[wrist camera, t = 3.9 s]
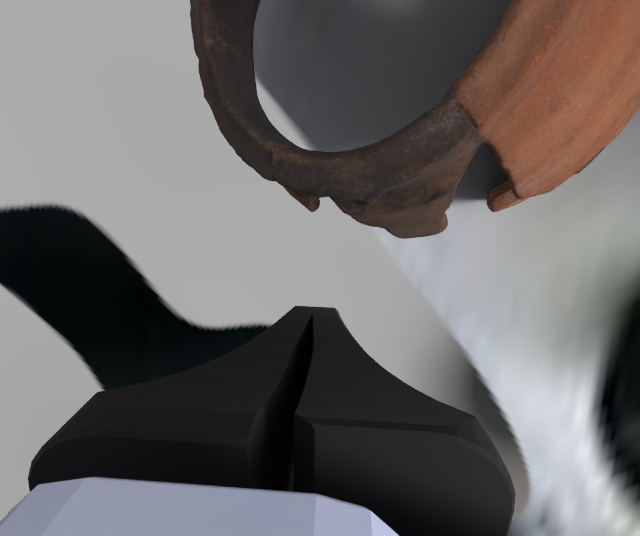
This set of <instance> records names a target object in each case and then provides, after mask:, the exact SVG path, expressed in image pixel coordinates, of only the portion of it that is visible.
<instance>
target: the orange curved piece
mask: <svg viewBox="0 0 640 536" xmlns="http://www.w3.org/2000/svg"><path fill="white" fill-rule="evenodd" d="M259 3H260V0H190V4H191V11H190V17H191V27H192V34H193V39H194V49H195V53H196V55H197V57H198V58H199V74H200V78H201V81H202V86H203V89H204V97H205V98H206V100H207V102H208V103H209V105H210V107H211V109H212V111H213V114H214V116H215V119H216V121H217V124H218V126H219V129H220V131H221V133H222V134H223V135H224V137H225V138H226V140H227V141H228V143H229V144H230V145H231V146H232V147H233V148H234V150H235V152H236V154H237V155H238V156H239V157H241V158H242V160H243V161H244V162H245V163H246V164H248V165H249V166H250V167H252V168H253V169H254V170H255V171H256V172H257V173H259V174H260V175H261V176H262V177H263V178H265V179H267V180H270V181H277V182H278V183H279V184H281V185H282V186H283V187H284V188H285V189H286V190H287V191H288V192H289V194H290V195H291V196H293V197H294V198H295V199H296V200H298V201H299V202H300V203H301V204H302V205H304V206H305V207H306V208H307V209H308V210H309V211H311V212H314V211H316V210H317V209H318V208H319V205H320V200H319V198H320V197H330V198H331V199H332V200H333V201H334V202H335V204H336V205H337V206H338V207H339V208H340V209H341V210H342V211H343V212H344V213H346V214H348V215H350V216H351V217H352V218H353V219H355V220H356V221H358V222H360V223H362V224H365V225H368V226H373V227H380V228H384V229H386V230H387V231H388V232H389V233H391V234H392V235H394V236H396V237H398V238H415V237H425V236H431V235H435V234H438V233H440V232H442V231H444V230H445V229H446V227H447V225H448V221H447V217H446V214H445V211H446V210H447V209H448V208H449V206H450V204H451V202H452V201H453V198H454V195H455V192H456V189H457V185H458V183H459V181H460V180H461V179H462V176H463V174H464V173H465V171H466V169H467V167H468V165H469V163H470V161H471V160H472V158H473V157H474V155H475V153H476V151H477V149H478V147H479V146H480V145H484V146H485V147H486V148H487V149H488V150H489V152H490V153H491V155H492V156H493V157H494V159H495V161H496V162H497V163H498V165H499V166H500V167H501V168H502V169H503V171H504V172H505V174H506V176H507V178H508V180H507V181H506V182H504V183H503V184H501V185H499V186H497V187H495V188H493V189H492V190H491V191H490V197H489V198H488V200H487V206H488V208H489V209H490V210H491V211H492V212H497V211H500V210H502V209H505V208H508V207H510V206H513V205H516V204H518V203H520V202H522V201H524V200H526V199H528V198H529V197H533V196H536V195H540V194H544V193H547V192H550V191H552V190H553V189H554V188H556V187H557V186H559V185H560V184H562V183H563V182H564V181H566V180H567V179H568V178H570V177H571V176H572V175H574V174H577V173H579V172H580V171H582V170H583V169H584V168H585V167H586V166H587V165H588V164H590V163H591V161H592V160H593V159H594V158H595V157H596V156H597V155H598V154H599V153H600V152H601V151H602V150H603V149H604V148H605V147H606V146H607V145H608V144H609V143H611V142H612V141H613V140H614V139H615V138H616V136H617V135H618V134H619V133H620V132H621V131H622V129H623V128H624V127H625V125H626V124H627V123H628V121H629V120H630V119H631V117H632V116H633V114H634V113H635V112H636V110H637V109H638V107H639V106H640V0H511V1H510V3H509V5H508V7H507V9H506V10H505V12H504V14H503V16H502V17H501V19H500V21H499V23H498V24H497V26H496V28H495V29H494V31H493V33H492V34H491V36H490V38H489V39H488V41H487V42H486V43H485V45H484V46H483V47H482V49H481V50H480V51H479V53H478V54H477V55H476V57H475V58H474V59H473V61H472V62H471V63H470V64H469V66H468V67H467V68H466V69H465V71H464V72H463V73H462V74H461V76H460V77H459V78H458V79H457V80H456V81H455V83H454V84H453V85H452V87H451V88H450V90H449V91H448V92H447V94H446V96H445V98H444V99H443V100H442V102H440V103H439V104H438V105H436V106H435V107H434V108H432V109H431V110H429V111H427V112H426V113H424V114H423V115H421V116H420V117H419V118H417V119H416V120H415V121H413V122H412V123H410V124H409V125H407V126H406V127H404V128H403V129H401V130H399V131H398V132H396V133H394V134H392V135H391V136H389V137H387V138H385V139H383V140H381V141H379V142H377V143H374V144H372V145H369V146H365V147H362V148H358V149H353V150H348V151H342V152H320V151H310V150H306V149H302V148H300V147H298V146H296V145H295V144H293V143H292V142H290V141H289V140H288V139H286V138H285V137H284V136H283V135H282V134H280V133H279V131H278V130H277V129H276V128H275V127H274V126H273V125H272V124H271V122H270V121H269V120H268V118H267V116H266V115H265V113H264V111H263V109H262V107H261V105H260V102H259V99H258V96H257V90H256V81H255V74H254V62H253V30H254V22H255V19H256V13H257V10H258V6H259Z"/></svg>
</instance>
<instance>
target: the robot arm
mask: <svg viewBox="0 0 640 536" xmlns="http://www.w3.org/2000/svg"><path fill="white" fill-rule="evenodd" d="M293 470H294V492H291V485H292V477H293ZM28 481H29V488H30V493H29V494H28V495H26V496H25V497H24V498H23V499H22V500H21V501H20V502H19V503H18V504H17V505H16V506H14V507H13V508H12V509H11V510H10V511H9V512H8V514H7V515H6V516H5V517H4V518H3V519H2V520H1V521H0V536H507V535H508V531H509V527H510V524H511V520H512V516H513V512H514V503H515V491H514V487H513V484H512V480H511V477H510V474H509V472H508V470H507V468H506V466H505V465H504V463H503V461H502V459H501V457H500V455H499V453H498V451H497V450H496V448H495V446H494V444H493V443H492V441H491V439H490V438H489V436H488V435H487V433H486V432H485V431H484V429H483V427H482V426H481V424H480V423H479V421H478V419H477V418H476V417H475V416H473V415H471V414H468V413H466V412H463V411H461V410H459V409H456V408H454V407H451V406H449V405H447V404H444V403H442V402H439V401H437V400H435V399H433V398H431V397H429V396H427V395H425V394H423V393H422V392H420V391H418V390H416V389H414V388H412V387H411V386H409V385H407V384H406V383H404V382H403V381H401V380H400V379H398V378H397V377H395V376H394V375H392V374H391V373H389V372H388V371H387V370H385V369H384V368H383V367H382V366H380V365H379V364H378V363H377V362H375V360H373V359H372V358H371V357H370V356H369V355H368V354H367V353H366V352H365V351H364V350H363V348H362V347H361V346H360V345H359V344H358V343H357V341H356V340H355V339H354V337H353V336H352V335H351V333H350V332H349V330H348V329H347V328H346V326H345V325H344V323H343V321H342V319H341V317H340V316H339V313H338V311H337V310H336V309H335V308H325V307H307V306H295V307H294V308H292V309H291V310H290V311H289V312H288V313H286V314H285V315H284V316H283V317H282V318H281V319H279V320H278V321H277V322H276V323H274V324H273V325H272V326H271V327H269V328H268V329H267V330H265V331H264V332H262V333H261V334H259V335H258V336H257V337H255V338H254V339H252V340H251V341H249V342H248V343H246V344H244V345H243V346H241V347H239V348H237V349H235V350H233V351H231V352H230V353H228V354H226V355H224V356H221V357H219V358H217V359H214V360H212V361H210V362H207V363H205V364H202V365H200V366H197V367H195V368H192V369H190V370H187V371H183V372H180V373H177V374H174V375H171V376H167V377H164V378H160V379H157V380H153V381H149V382H145V383H141V384H136V385H131V386H126V387H122V388H117V389H112V390H107V391H101V392H97V393H96V394H95V395H94V396H93V397H92V398H91V399H90V400H89V401H88V402H87V403H86V404H85V405H84V406H83V407H82V408H81V409H80V410H79V411H78V412H77V413H76V414H75V415H74V416H73V417H72V418H71V419H70V420H68V421H67V423H66V424H64V425H63V426H62V427H61V429H59V430H58V432H56V434H54V435H53V436H52V437H51V438H50V439H49V440H48V441H47V442H46V443H45V444H44V445H43V446H42V448H41V449H40V450H39V452H38V453H37V455H36V456H35V457H34V459H33V460H32V463H31V467H30V472H29V476H28Z"/></svg>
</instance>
